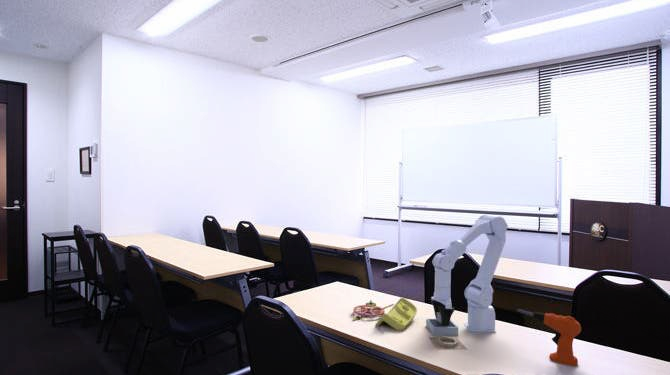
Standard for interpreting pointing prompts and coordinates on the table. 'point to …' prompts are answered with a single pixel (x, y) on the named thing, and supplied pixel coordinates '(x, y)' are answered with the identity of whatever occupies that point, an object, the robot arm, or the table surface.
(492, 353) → the table surface
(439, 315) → the cylinder with rectangular bar
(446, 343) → the socket plate
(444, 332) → the bin
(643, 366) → the table surface
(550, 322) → the toy drill
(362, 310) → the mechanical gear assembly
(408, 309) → the plastic component
